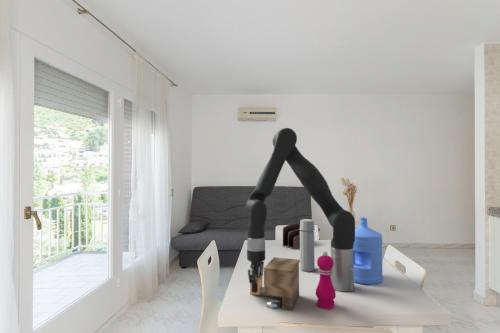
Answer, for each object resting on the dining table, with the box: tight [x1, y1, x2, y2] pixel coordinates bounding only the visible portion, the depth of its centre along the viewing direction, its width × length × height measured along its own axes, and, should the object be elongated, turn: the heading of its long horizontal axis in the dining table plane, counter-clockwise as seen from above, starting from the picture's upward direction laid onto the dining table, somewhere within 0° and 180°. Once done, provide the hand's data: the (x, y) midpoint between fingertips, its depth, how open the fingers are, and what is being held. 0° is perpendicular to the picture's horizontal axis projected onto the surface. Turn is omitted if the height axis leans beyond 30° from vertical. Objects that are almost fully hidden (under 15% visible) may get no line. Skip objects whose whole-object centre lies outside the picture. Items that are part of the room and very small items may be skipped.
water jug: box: [353, 217, 384, 286], centre depth 142 cm, size 16×16×28 cm
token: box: [265, 298, 281, 309], centre depth 114 cm, size 5×5×2 cm
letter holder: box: [282, 223, 301, 250], centre depth 205 cm, size 10×20×14 cm, turn 132°
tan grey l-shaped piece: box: [249, 274, 282, 299], centre depth 124 cm, size 14×4×7 cm, turn 70°
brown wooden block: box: [263, 257, 300, 311], centre depth 118 cm, size 11×15×14 cm
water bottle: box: [299, 218, 316, 273], centre depth 156 cm, size 9×8×25 cm
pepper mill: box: [315, 251, 337, 310], centre depth 114 cm, size 7×7×20 cm
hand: (256, 289), depth 126 cm, fingers closed on tan grey l-shaped piece, 4 cm apart
